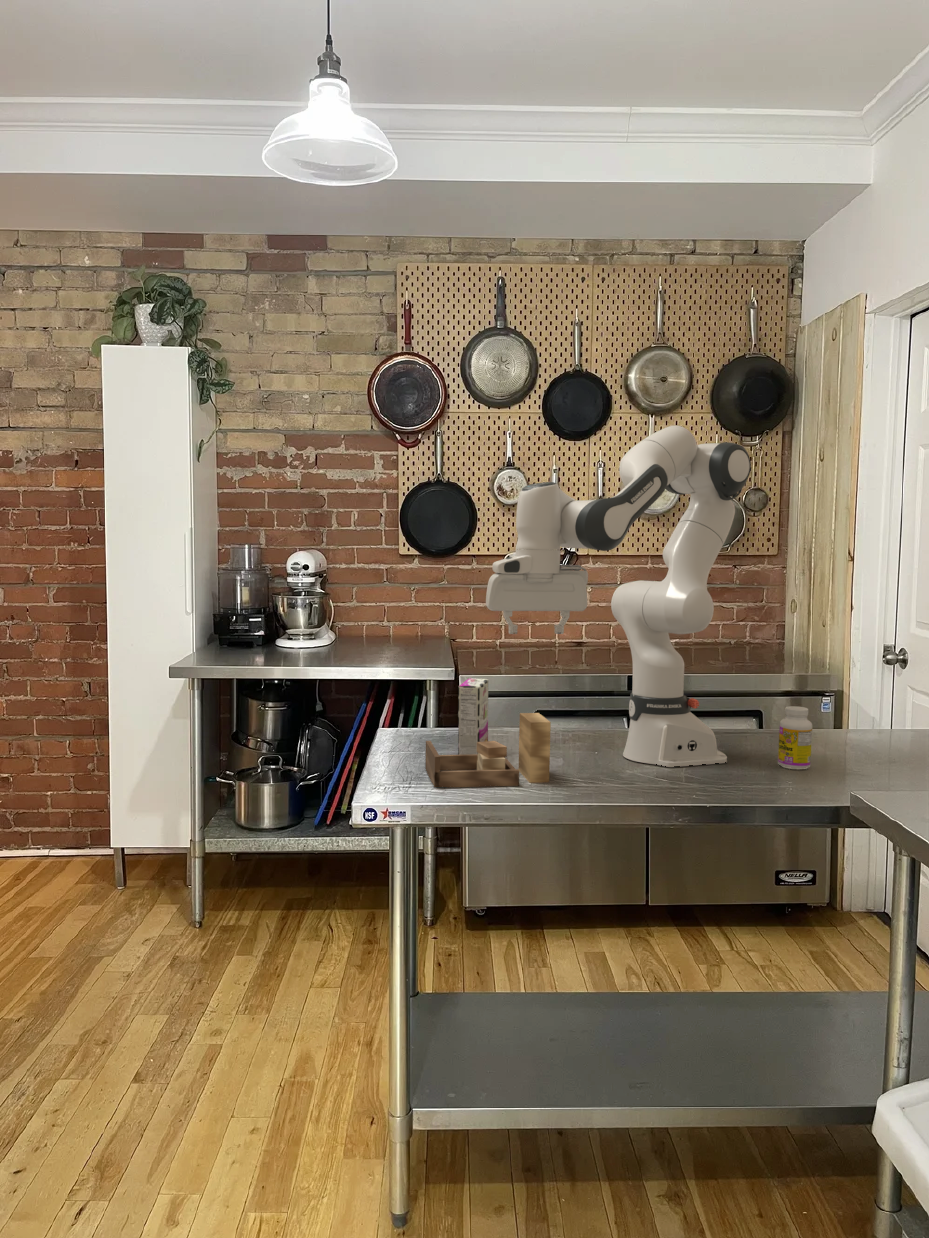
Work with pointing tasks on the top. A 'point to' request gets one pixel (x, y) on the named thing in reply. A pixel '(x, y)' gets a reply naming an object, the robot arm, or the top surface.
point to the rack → (465, 771)
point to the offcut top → (491, 749)
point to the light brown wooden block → (534, 747)
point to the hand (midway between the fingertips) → (536, 633)
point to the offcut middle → (491, 763)
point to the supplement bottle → (795, 738)
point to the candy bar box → (472, 715)
